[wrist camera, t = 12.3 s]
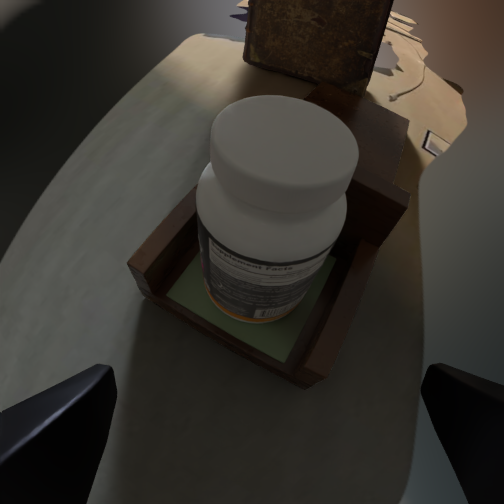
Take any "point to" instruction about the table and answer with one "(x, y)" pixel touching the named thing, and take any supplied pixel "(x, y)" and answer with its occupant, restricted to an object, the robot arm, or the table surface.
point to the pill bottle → (271, 203)
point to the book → (317, 39)
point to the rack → (328, 277)
